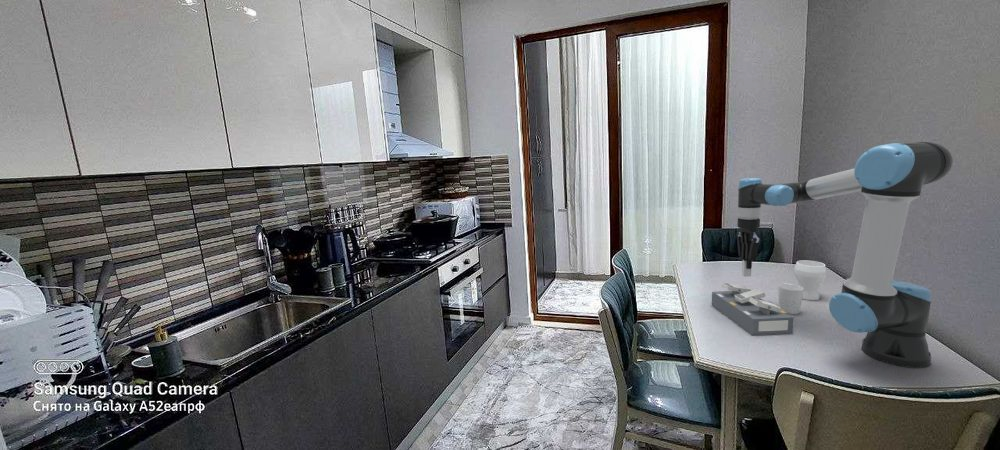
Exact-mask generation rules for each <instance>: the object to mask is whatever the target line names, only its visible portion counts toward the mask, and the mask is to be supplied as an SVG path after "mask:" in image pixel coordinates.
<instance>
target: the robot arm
mask: <svg viewBox="0 0 1000 450" xmlns="http://www.w3.org/2000/svg"><path fill="white" fill-rule="evenodd" d="M953 164H954V159H953V155H952V152H950V150H949V149H948V148H946V147H945V146H943V145H941V144H939V143H936V142H933V141H931V142H930V141H917V142H901V143H899V142H898V143H897V142H894V143H887V144H881V145H877V146H874V147H871V148H869V149H868V150H867V151H865V152H864V153H863V154H861V156H860V157H858V159H857V161H856V163H855V166H854V167H853V168H851V169H847V170H842V171H838V172H834V173H831V174H826V175H824V176H819V177H815V178H811V179H806V180H804V181H798V182H797V181H796V182H789V183H788V182H787V183H786V182H785V183H776V184H775V183H774V184H769V183H768V184H767V183H766V184H765V183H763V180H762V178H759V177H746V178H741V179H740V180H739V182H738V194H737V196H738V199H737V202H738V203H737V217H738V218H737V224H736V225H737V228H738V229H739V232H736V233H735V237H736V241H737V243H736V244H737V250H738V251H737V252H738V257H739V258H741V260H742V262H741V266H742V270H741V275H742V277H752V267H753V261H756V260H757V257H758V252H759V248H760V247H759V246H760V244H761V241H762V237H758V231H757V230H758V229H759V228H760V227H761V219H760V218H761V208H762V207H761V206H762V205H765V206H766V205H767V206H773V207H787V205H789V204H799V203H811V202H815V201H817V200H820V199H827V198H831V197H832V198H833V197H837V196H841V195H846V194H847V195H848V194H852V193H858V192H860V193H861V194H862V195H863V196H864V197H865V199H866V201H865V206H864V210H863V217H862V222H861V226H860V231H859V235H858V236H859V237H858V241H857V246H856V253H855V257H854V261H853V267H852V270H851V271H852V272H851V276H850V277H848V278H846V279H845V280H843V283H842V287H841V292H838V293H836V294H835V295H833V296H831V298H830V300H829V304H828V306H829V307H828V308H829V313H830V314H831V316H832V318H833V319H834V321H835V322H836V323H837V324H838V325H840V326H841V327H842V328H843V329H845V330H847V331H849V332H853V333H861V334H862V333H867V334H866V335H865V337H863V339H862V342H861V350H862V351H863V352H864V353H865V354H866V355H867V356H869V357H871V358H874V359H876V360H879V361H881V362H884V363H887V364H892V365H895V366H900V367H905V368H927V367H929V366H930V365H931V364H932V363H931V362H932V354H931V352H930V350H929V345H928V342H927V339H926V335H927V329H928V324H929V323H928V321H929V316H930V315H929V314H930V309H931V304H932V300H931V298H932V292H931V291H930V289H928V288H927V287H925V286H922V285H918V284H914V283H911V282H906V281H900V280H894V275H895V269H896V265H897V261H898V258H899V257H898V256H899V252H900V248H901V245H902V239H903V234H904V231H905V226H906V222H907V218H908V213H909V208H910V205H911V202H912V201H914V200H916V199H918V198H920V196H921V192H922V188H923V186H924V185H930V184H932V183H933V184H934V183H936V182H938V181H940V180H941V179H943V178H945V177H946V176H947V175H949V173H950V171H951V170H952V168H953Z"/></svg>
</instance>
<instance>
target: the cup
mask: <svg viewBox="0 0 1000 450" xmlns="http://www.w3.org/2000/svg"><path fill="white" fill-rule="evenodd" d="M793 272H794V276H795V279H796V280H797V282H798V283H797V285H798V286H801V287H803V295H802V300H807V301H818V300H820V291H819V289H820V286H821V284H822V283H823V282H824V280H825V278H826V275H827V267H826V264H825V263H823V262H820V261H817V260H816V261H815V260H806V259H805V260H802V259H801V260H797V261H796V263H795V265H794V271H793Z"/></svg>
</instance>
